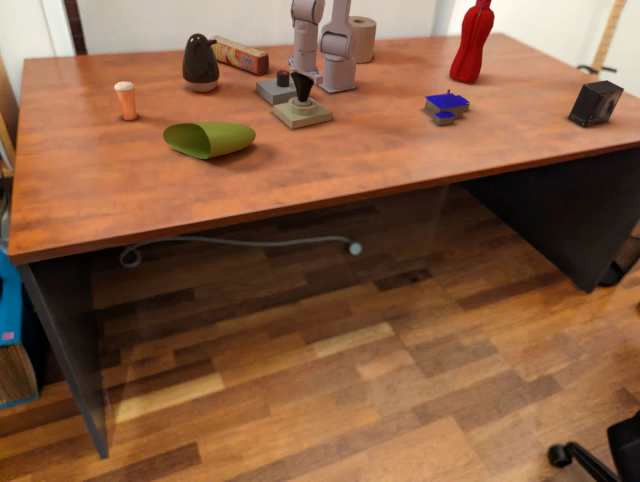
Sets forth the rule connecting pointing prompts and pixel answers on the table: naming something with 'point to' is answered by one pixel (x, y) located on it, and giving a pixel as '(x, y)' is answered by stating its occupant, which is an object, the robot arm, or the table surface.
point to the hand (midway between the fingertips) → (302, 100)
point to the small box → (595, 103)
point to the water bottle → (472, 42)
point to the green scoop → (208, 138)
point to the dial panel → (276, 91)
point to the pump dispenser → (200, 64)
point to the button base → (301, 113)
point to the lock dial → (283, 78)
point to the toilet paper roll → (363, 37)
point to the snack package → (240, 55)
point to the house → (445, 107)
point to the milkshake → (126, 99)
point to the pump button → (302, 103)
